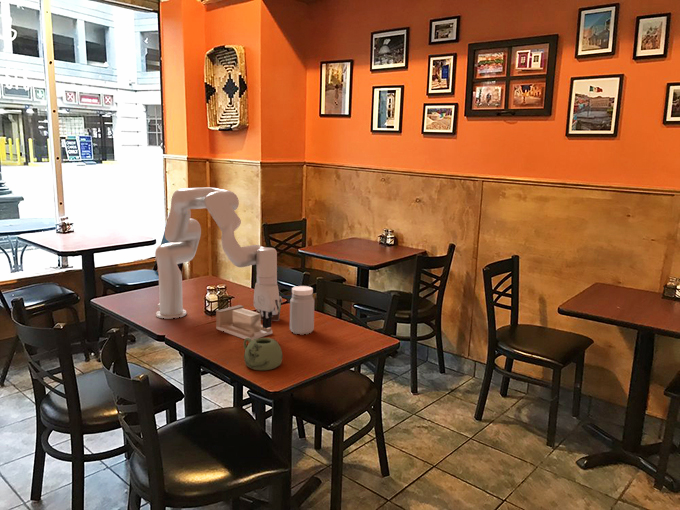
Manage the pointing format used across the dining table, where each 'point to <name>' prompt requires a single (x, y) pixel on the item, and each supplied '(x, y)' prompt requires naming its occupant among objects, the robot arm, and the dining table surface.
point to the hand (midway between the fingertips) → (267, 327)
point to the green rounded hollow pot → (262, 353)
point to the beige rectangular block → (247, 320)
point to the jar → (302, 310)
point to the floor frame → (226, 324)
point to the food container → (276, 317)
